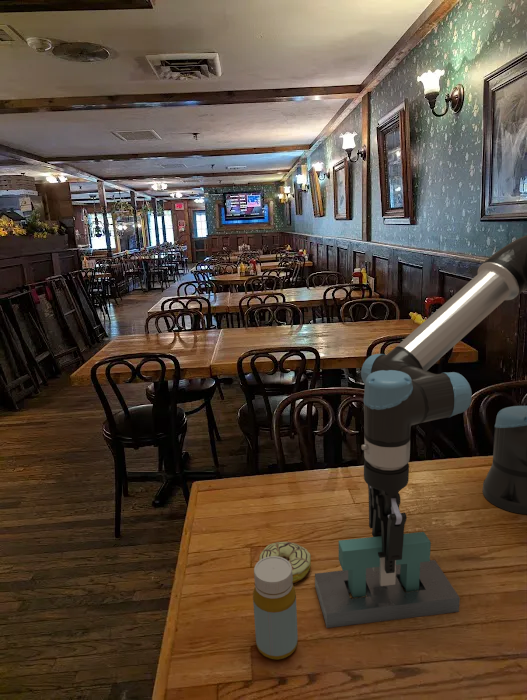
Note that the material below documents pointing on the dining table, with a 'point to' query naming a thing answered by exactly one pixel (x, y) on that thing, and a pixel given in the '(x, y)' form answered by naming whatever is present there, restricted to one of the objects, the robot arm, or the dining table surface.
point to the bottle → (275, 608)
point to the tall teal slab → (365, 555)
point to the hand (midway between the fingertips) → (383, 576)
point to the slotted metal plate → (384, 597)
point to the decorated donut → (290, 557)
